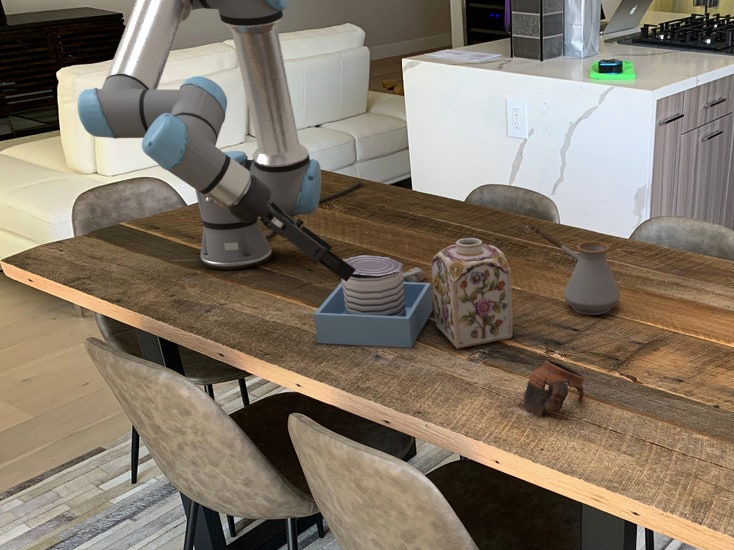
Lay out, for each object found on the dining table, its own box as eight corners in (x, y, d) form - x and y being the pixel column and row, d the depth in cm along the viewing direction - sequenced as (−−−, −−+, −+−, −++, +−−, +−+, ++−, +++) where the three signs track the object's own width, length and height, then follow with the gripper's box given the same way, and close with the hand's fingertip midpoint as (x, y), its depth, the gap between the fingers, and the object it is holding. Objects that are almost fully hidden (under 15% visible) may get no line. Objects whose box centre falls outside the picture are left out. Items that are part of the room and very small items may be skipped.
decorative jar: (455, 350, 158) (449, 255, 149) (433, 327, 167) (427, 236, 158) (515, 338, 163) (513, 245, 154) (491, 316, 172) (487, 227, 163)
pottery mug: (513, 397, 144) (533, 352, 143) (564, 417, 147) (584, 373, 146) (525, 415, 133) (547, 366, 132) (580, 436, 136) (602, 389, 135)
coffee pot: (629, 304, 178) (633, 232, 171) (602, 323, 170) (605, 249, 162) (541, 283, 188) (541, 215, 180) (512, 301, 179) (510, 230, 171)
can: (350, 311, 171) (342, 253, 165) (408, 309, 173) (403, 251, 166) (343, 335, 162) (335, 274, 156) (405, 333, 163) (399, 272, 157)
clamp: (407, 263, 191) (436, 274, 185) (408, 272, 192) (437, 284, 187) (349, 280, 182) (378, 293, 176) (351, 290, 183) (379, 303, 177)
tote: (347, 306, 176) (343, 279, 173) (432, 310, 174) (430, 283, 172) (317, 343, 161) (313, 314, 158) (411, 347, 159) (408, 318, 156)
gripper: (209, 191, 153) (306, 258, 167) (241, 230, 135) (347, 302, 149) (235, 157, 153) (330, 227, 167) (271, 192, 134) (374, 268, 149)
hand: (338, 263), depth 158 cm, fingers open, 13 cm apart
